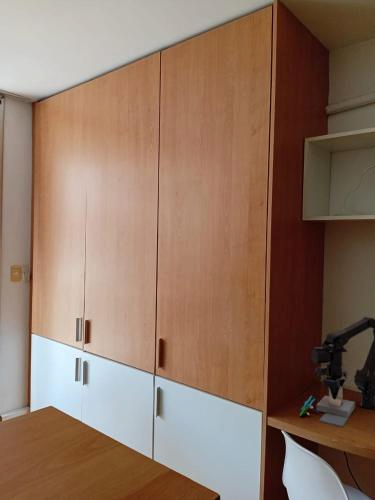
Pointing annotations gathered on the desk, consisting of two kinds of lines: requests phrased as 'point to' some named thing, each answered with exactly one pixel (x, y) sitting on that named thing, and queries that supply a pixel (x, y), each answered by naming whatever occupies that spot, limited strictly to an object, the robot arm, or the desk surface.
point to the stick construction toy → (308, 407)
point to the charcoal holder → (336, 407)
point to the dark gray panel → (333, 420)
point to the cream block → (338, 399)
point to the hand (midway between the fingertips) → (335, 397)
